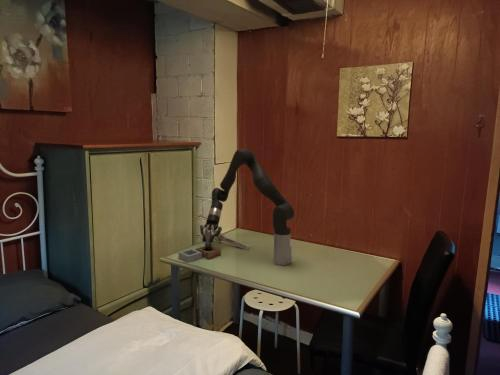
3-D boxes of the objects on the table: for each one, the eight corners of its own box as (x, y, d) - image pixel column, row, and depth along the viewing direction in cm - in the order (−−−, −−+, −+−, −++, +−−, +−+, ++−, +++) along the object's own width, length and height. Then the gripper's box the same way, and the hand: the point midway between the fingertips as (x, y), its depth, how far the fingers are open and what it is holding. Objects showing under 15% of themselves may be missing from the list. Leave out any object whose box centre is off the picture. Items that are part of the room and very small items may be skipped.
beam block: (220, 255, 217) (220, 250, 216) (208, 259, 210) (208, 253, 210) (207, 250, 225) (207, 245, 224) (195, 254, 218) (195, 248, 218)
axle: (213, 251, 217) (213, 230, 215) (208, 253, 214) (207, 231, 212) (208, 249, 220) (208, 228, 218) (203, 251, 217) (203, 230, 215)
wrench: (247, 255, 227) (211, 240, 243) (249, 254, 229) (213, 240, 245) (249, 243, 225) (212, 229, 241) (251, 242, 227) (214, 228, 243)
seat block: (201, 258, 212) (201, 252, 211) (188, 262, 205) (188, 256, 205) (191, 254, 218) (191, 248, 218) (178, 258, 212) (178, 252, 211)
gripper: (201, 212, 223) (194, 237, 213) (223, 214, 219) (217, 239, 210) (204, 219, 229) (197, 243, 219) (226, 220, 225) (220, 245, 216)
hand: (207, 241), depth 214 cm, fingers closed on axle, 4 cm apart
